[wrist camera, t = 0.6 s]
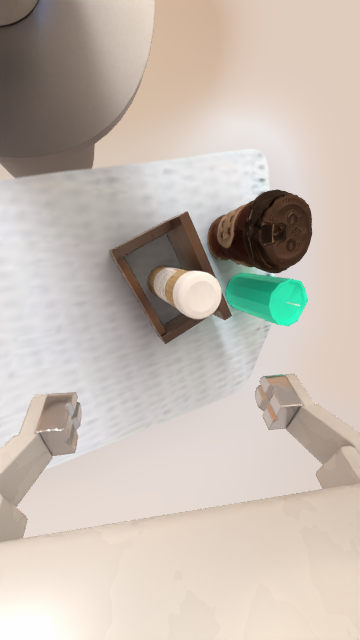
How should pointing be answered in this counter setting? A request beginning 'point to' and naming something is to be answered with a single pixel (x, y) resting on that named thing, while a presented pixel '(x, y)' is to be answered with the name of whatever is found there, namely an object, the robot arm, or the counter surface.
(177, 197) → the counter surface
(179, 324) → the spice rack
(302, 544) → the robot arm
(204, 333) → the counter surface
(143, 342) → the counter surface
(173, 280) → the sprinkles bottle
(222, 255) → the coffee cup
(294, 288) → the candle
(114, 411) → the counter surface
